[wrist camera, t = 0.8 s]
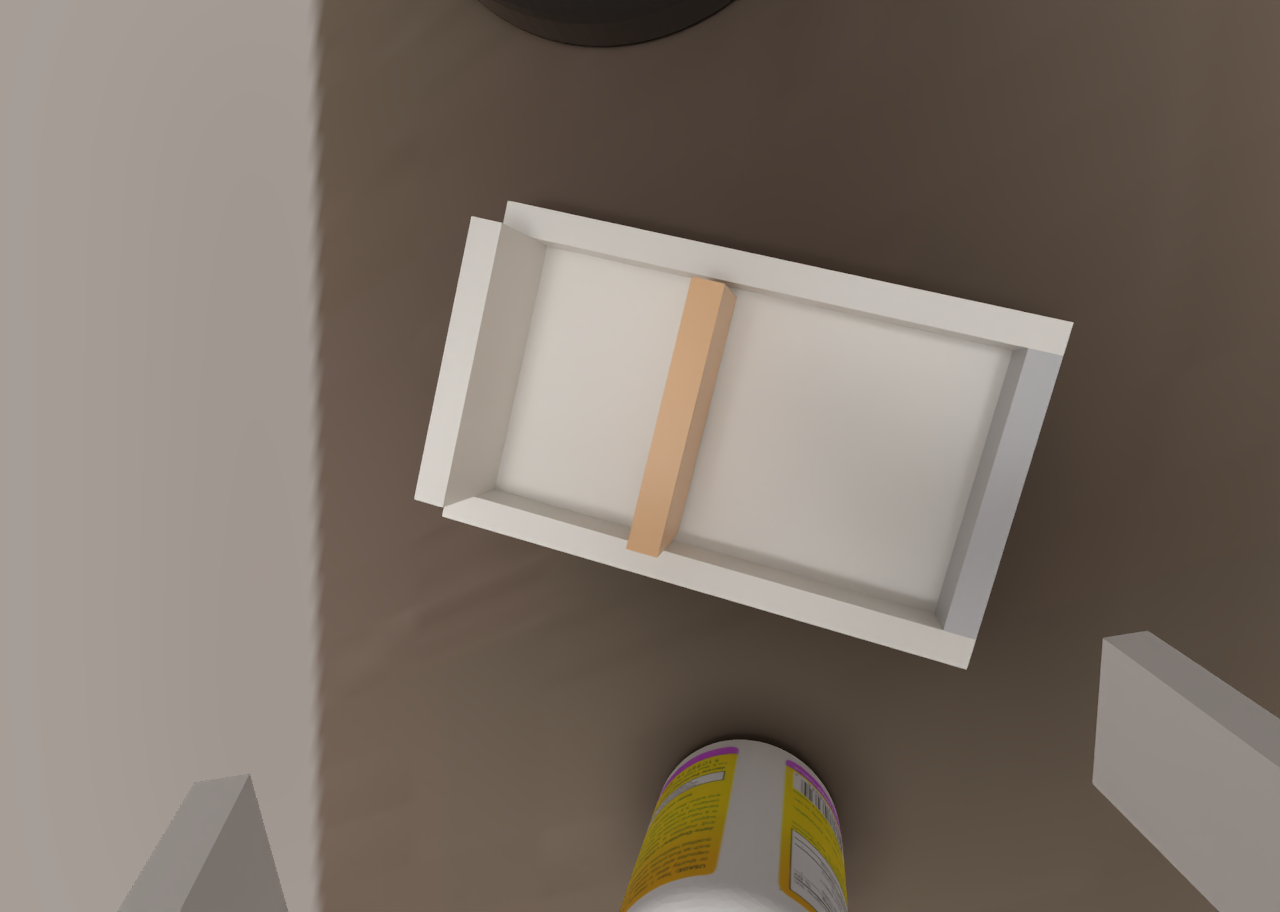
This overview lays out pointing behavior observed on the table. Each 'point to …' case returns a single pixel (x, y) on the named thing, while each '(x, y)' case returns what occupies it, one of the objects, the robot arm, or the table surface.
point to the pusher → (682, 416)
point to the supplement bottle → (740, 837)
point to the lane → (743, 424)
